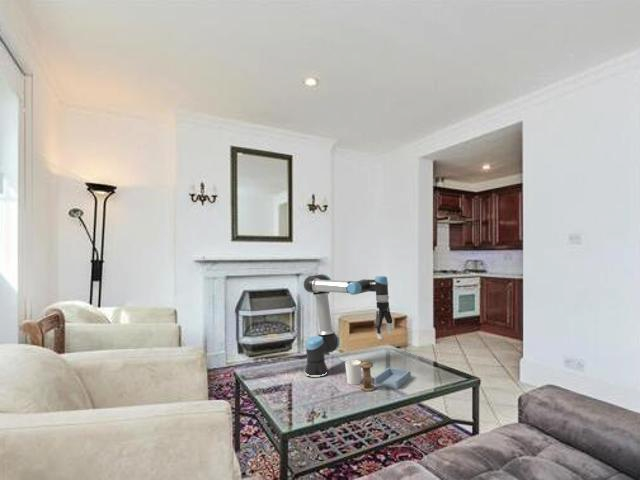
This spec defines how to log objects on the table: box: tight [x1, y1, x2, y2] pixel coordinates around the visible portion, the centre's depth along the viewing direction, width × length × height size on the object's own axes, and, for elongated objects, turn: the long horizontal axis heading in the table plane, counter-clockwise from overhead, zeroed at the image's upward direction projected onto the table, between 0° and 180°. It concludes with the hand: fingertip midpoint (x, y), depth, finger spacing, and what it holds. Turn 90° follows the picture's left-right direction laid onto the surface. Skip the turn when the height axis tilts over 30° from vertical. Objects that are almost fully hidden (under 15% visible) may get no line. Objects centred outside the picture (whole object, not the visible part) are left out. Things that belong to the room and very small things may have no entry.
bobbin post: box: [359, 361, 376, 392], centre depth 198 cm, size 8×8×14 cm
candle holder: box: [344, 359, 362, 386], centre depth 209 cm, size 10×10×12 cm
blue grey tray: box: [373, 367, 412, 390], centre depth 207 cm, size 14×20×4 cm
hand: (384, 336), depth 211 cm, fingers open, 13 cm apart
